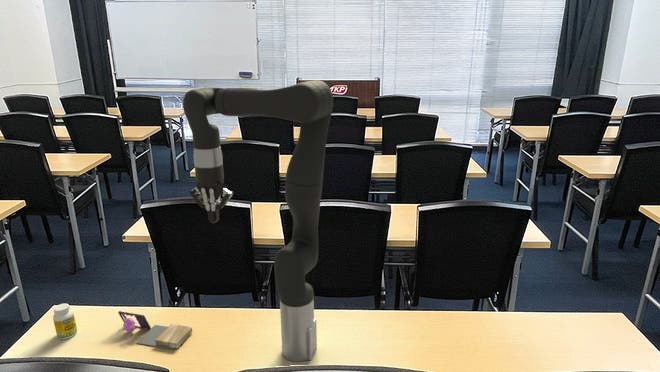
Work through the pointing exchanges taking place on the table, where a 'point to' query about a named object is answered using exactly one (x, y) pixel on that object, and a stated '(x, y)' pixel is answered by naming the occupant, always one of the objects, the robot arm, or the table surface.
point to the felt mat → (153, 337)
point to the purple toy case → (130, 324)
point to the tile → (174, 336)
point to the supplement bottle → (64, 321)
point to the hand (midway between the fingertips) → (214, 221)
